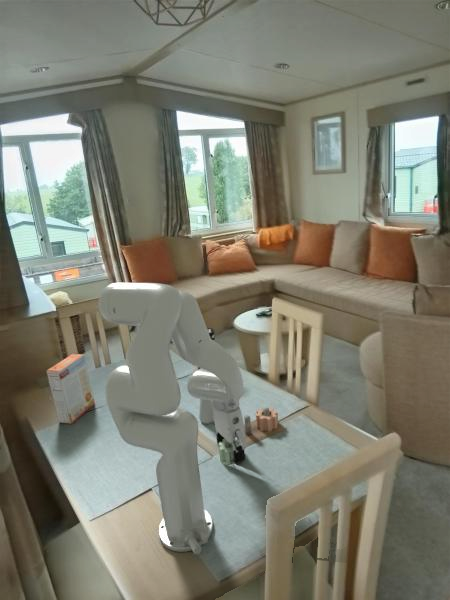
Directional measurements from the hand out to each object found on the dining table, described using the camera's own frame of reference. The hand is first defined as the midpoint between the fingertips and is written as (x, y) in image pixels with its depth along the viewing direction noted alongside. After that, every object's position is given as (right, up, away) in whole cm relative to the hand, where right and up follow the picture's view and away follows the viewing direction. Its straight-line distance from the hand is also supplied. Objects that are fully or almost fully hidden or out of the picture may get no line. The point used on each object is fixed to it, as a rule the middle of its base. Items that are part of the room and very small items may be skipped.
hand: (231, 452), depth 120 cm
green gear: (0, -1, 0) cm, 2 cm away
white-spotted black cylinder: (-8, +13, +51) cm, 54 cm away
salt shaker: (-7, +3, +19) cm, 20 cm away
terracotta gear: (+12, +4, +12) cm, 17 cm away
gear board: (+9, +2, +11) cm, 14 cm away
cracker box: (-56, +2, +33) cm, 65 cm away
